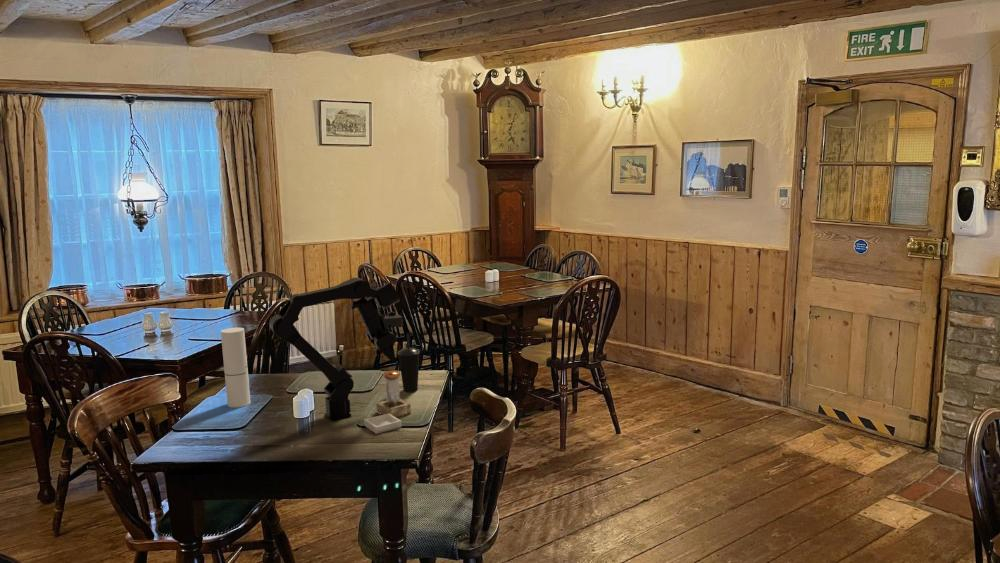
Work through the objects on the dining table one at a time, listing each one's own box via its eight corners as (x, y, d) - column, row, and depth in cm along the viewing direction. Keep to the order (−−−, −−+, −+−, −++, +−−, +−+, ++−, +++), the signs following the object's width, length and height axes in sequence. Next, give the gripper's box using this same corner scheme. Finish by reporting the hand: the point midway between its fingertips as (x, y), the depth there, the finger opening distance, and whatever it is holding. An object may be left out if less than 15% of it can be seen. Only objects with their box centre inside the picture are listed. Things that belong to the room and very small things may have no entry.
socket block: (388, 419, 217) (387, 409, 217) (376, 412, 224) (376, 403, 223) (410, 413, 222) (410, 404, 221) (399, 406, 228) (398, 397, 227)
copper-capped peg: (390, 416, 219) (388, 376, 217) (383, 412, 223) (380, 372, 221) (404, 413, 222) (402, 373, 220) (397, 408, 226) (395, 369, 224)
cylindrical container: (254, 400, 238) (247, 327, 233) (244, 407, 231) (237, 332, 226) (233, 400, 238) (227, 327, 234) (223, 407, 231) (216, 332, 227)
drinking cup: (420, 393, 241) (417, 335, 237) (397, 393, 241) (394, 336, 237) (423, 386, 248) (420, 330, 245) (401, 386, 248) (398, 330, 245)
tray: (376, 433, 206) (376, 427, 205) (364, 425, 212) (363, 419, 212) (401, 427, 210) (401, 420, 210) (389, 419, 217) (388, 413, 217)
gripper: (400, 308, 214) (421, 353, 218) (387, 300, 232) (407, 341, 236) (367, 325, 211) (388, 370, 215) (356, 315, 229) (376, 357, 232)
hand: (391, 359), depth 225 cm, fingers open, 9 cm apart
